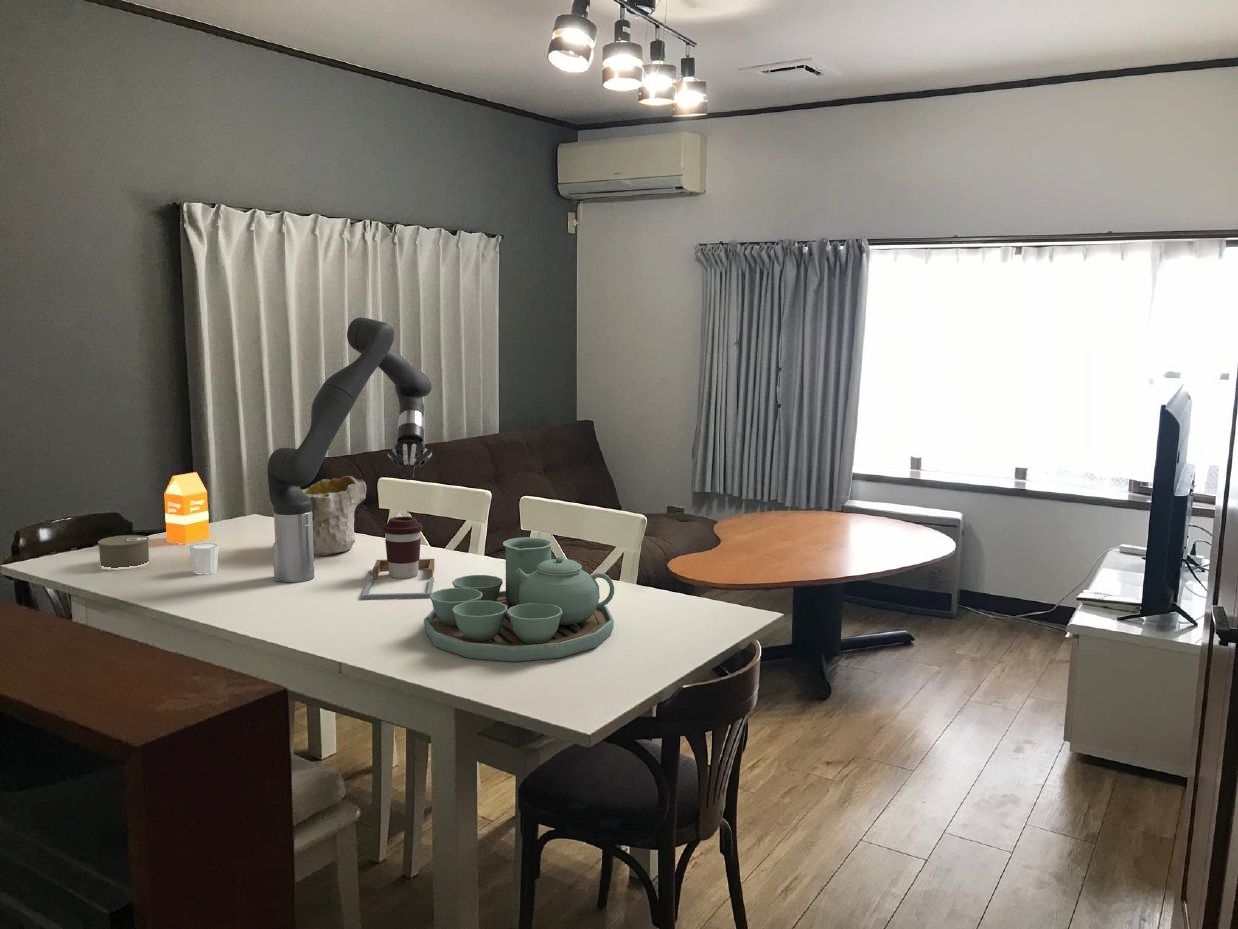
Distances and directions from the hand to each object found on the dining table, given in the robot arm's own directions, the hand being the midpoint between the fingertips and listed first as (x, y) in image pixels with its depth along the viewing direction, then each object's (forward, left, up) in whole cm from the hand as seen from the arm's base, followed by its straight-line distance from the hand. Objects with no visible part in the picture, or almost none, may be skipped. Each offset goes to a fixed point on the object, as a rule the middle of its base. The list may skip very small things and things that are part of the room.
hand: (408, 478), depth 266 cm
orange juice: (-66, +24, -22) cm, 73 cm away
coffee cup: (0, -22, -22) cm, 31 cm away
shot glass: (-51, -14, -22) cm, 57 cm away
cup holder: (0, -21, -22) cm, 30 cm away
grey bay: (0, -35, -22) cm, 42 cm away
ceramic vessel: (-26, +9, -22) cm, 35 cm away
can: (-74, -4, -22) cm, 77 cm away
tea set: (+28, -70, -22) cm, 79 cm away
